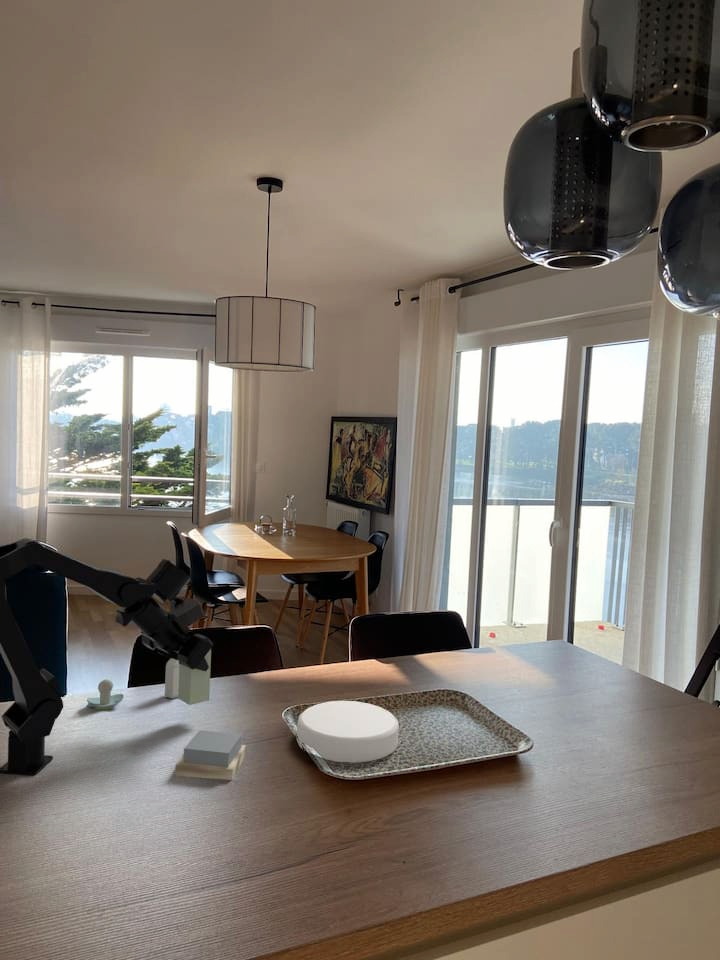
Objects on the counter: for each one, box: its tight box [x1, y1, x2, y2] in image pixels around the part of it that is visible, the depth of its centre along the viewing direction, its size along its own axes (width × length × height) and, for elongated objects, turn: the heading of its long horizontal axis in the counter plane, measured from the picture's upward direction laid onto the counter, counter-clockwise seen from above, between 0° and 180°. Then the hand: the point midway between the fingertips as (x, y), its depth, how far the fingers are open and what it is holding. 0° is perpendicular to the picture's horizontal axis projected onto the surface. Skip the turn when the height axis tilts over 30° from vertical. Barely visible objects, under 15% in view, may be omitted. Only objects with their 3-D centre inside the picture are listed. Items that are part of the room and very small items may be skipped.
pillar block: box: [177, 648, 212, 706], centre depth 146 cm, size 4×4×12 cm
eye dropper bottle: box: [164, 658, 179, 699], centre depth 161 cm, size 4×6×12 cm
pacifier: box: [86, 678, 124, 710], centre depth 153 cm, size 7×6×6 cm
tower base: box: [174, 744, 247, 781], centre depth 128 cm, size 10×10×2 cm
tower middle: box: [183, 729, 243, 767], centre depth 128 cm, size 8×8×2 cm
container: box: [296, 700, 400, 763], centre depth 142 cm, size 20×20×5 cm
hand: (200, 666), depth 147 cm, fingers closed on pillar block, 4 cm apart
